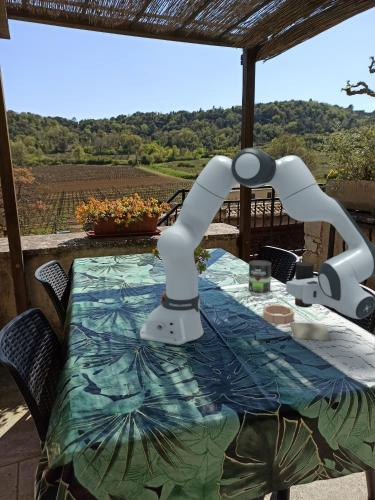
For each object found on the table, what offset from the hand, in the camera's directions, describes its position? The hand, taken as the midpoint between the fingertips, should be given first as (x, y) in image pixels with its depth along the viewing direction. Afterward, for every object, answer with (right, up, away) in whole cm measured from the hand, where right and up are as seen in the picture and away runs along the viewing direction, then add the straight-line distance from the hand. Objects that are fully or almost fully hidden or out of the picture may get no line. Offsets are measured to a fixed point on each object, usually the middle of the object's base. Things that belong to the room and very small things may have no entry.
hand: (302, 279), depth 121 cm
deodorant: (+1, -9, +1) cm, 9 cm away
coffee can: (-7, -9, +41) cm, 42 cm away
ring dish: (-6, -16, +11) cm, 20 cm away
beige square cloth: (+2, -18, -2) cm, 18 cm away
